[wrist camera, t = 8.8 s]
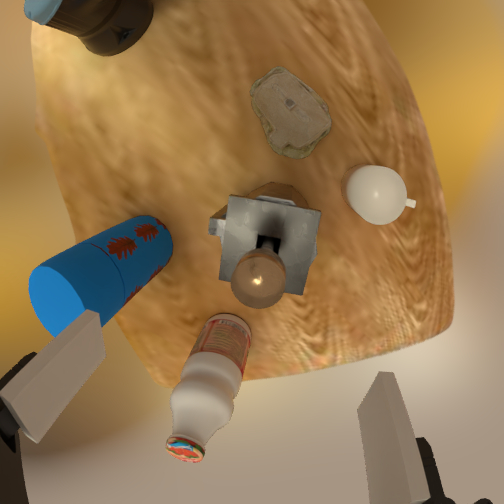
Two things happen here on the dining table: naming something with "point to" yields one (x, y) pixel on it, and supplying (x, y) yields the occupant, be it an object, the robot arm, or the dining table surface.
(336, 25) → the dining table surface
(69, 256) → the thermos
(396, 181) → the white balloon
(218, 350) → the fruit juice
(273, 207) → the press body
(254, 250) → the plunger
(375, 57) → the dining table surface
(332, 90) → the dining table surface
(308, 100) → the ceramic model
